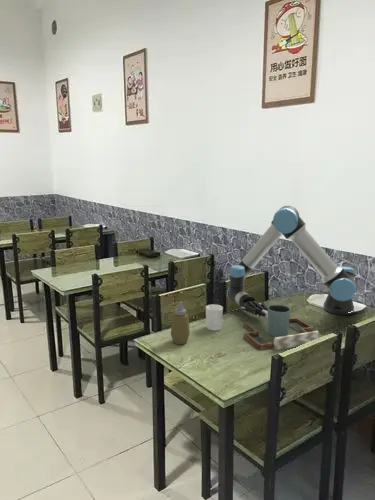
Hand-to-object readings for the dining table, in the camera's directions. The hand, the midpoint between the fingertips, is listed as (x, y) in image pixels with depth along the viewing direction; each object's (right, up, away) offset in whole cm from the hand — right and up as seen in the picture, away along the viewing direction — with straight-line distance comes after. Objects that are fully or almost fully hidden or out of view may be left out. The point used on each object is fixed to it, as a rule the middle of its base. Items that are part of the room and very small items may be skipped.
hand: (270, 317), depth 191 cm
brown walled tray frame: (+3, -7, -3) cm, 8 cm away
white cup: (-26, -5, +2) cm, 26 cm away
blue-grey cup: (+2, -7, -3) cm, 8 cm away
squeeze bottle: (-41, -8, -13) cm, 44 cm away
